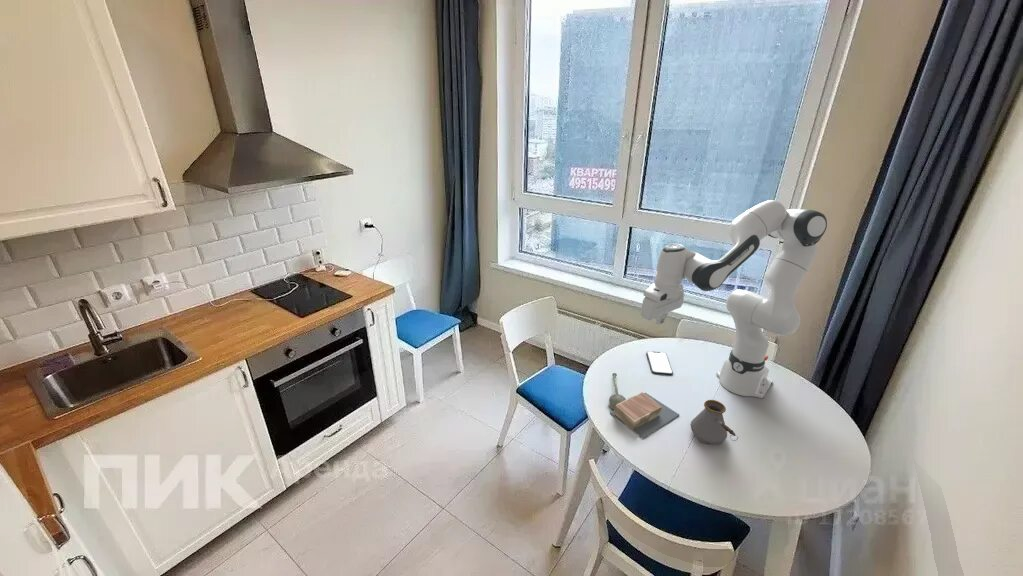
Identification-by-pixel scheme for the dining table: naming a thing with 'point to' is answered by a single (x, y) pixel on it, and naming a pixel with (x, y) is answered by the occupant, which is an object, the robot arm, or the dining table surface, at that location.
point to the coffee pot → (711, 424)
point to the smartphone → (659, 363)
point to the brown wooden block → (637, 410)
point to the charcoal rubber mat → (653, 420)
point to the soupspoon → (615, 395)
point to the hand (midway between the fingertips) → (659, 323)
